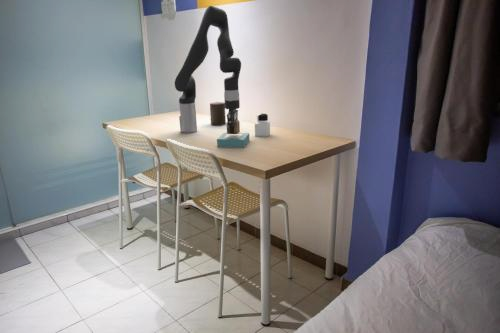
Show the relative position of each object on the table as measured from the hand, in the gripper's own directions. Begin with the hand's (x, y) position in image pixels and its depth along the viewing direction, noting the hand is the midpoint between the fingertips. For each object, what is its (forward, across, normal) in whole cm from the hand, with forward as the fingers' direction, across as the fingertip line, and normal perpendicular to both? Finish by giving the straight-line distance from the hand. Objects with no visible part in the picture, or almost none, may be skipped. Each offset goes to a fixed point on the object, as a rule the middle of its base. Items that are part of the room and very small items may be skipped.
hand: (233, 131), depth 193 cm
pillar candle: (+7, -48, -22) cm, 53 cm away
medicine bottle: (+7, -20, +12) cm, 24 cm away
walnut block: (+1, 0, 0) cm, 1 cm away
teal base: (+6, 0, 0) cm, 6 cm away
